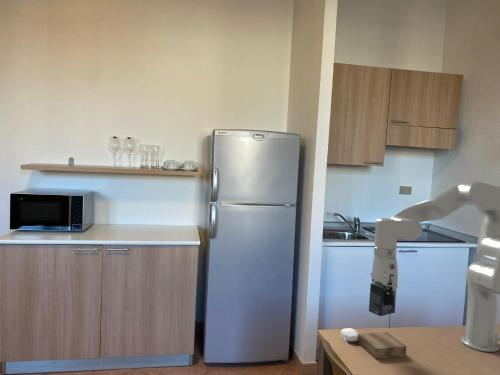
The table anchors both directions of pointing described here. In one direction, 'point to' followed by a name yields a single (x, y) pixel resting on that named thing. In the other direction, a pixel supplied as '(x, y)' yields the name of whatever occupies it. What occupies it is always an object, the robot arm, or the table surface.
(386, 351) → the walnut block
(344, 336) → the garlic
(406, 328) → the table surface
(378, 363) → the table surface
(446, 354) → the table surface
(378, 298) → the box
